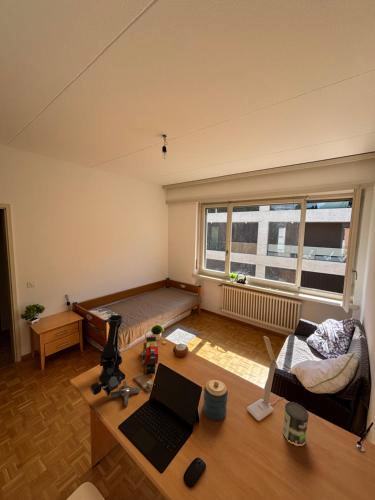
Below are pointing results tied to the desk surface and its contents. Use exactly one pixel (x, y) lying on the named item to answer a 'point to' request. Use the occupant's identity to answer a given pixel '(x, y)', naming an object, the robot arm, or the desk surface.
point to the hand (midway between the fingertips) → (108, 395)
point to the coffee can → (295, 422)
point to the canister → (215, 400)
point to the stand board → (144, 382)
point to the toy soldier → (150, 355)
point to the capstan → (125, 392)
